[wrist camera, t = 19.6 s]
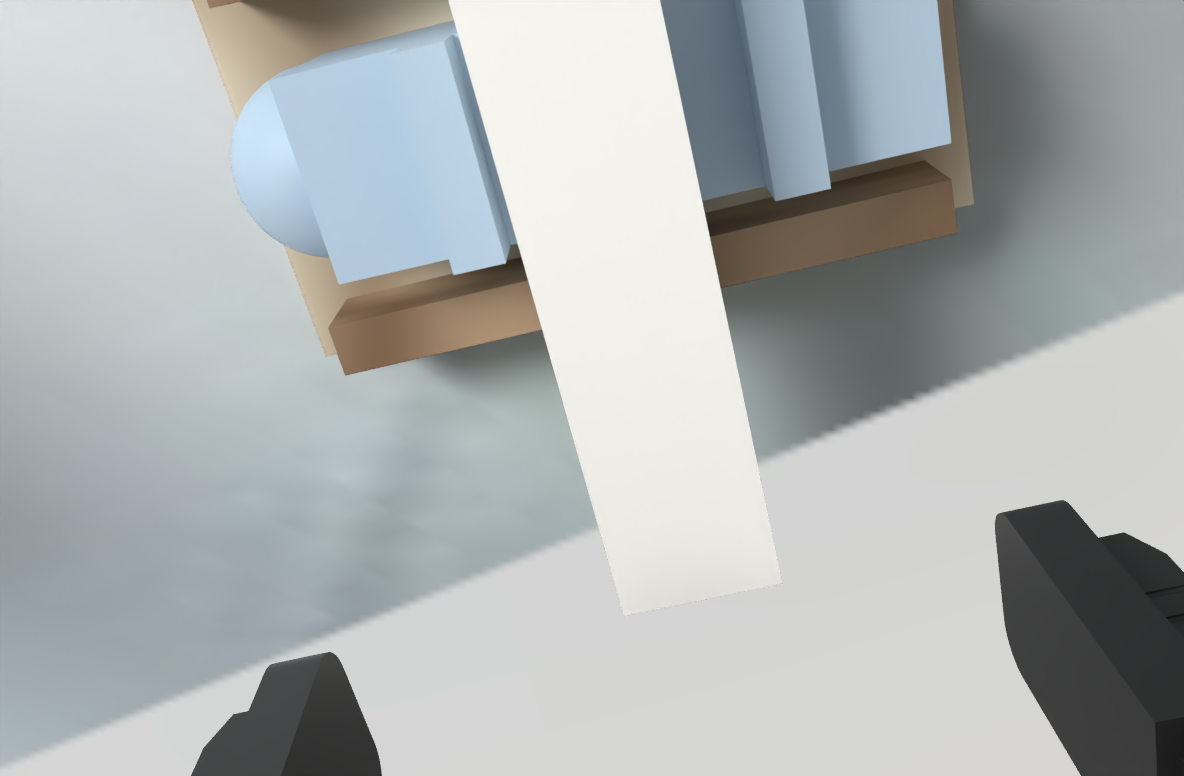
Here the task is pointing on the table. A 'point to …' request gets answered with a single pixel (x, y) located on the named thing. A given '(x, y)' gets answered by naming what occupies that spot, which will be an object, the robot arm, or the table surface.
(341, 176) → the light blue stepped block
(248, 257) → the table surface
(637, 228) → the white rectangular bar
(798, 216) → the jig
